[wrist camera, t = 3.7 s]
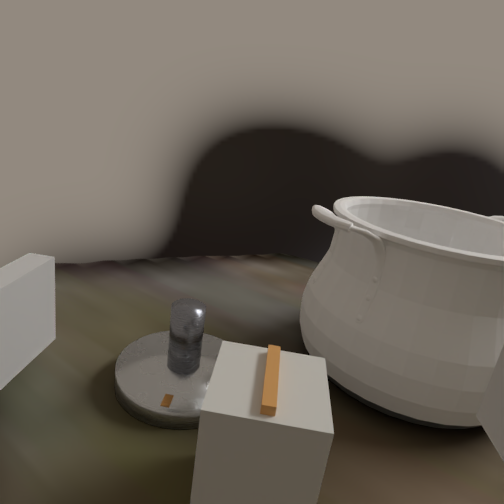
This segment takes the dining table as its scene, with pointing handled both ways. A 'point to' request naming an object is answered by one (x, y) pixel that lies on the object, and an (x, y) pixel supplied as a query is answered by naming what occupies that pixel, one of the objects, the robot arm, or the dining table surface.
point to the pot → (408, 307)
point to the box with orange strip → (263, 428)
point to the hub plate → (169, 370)
